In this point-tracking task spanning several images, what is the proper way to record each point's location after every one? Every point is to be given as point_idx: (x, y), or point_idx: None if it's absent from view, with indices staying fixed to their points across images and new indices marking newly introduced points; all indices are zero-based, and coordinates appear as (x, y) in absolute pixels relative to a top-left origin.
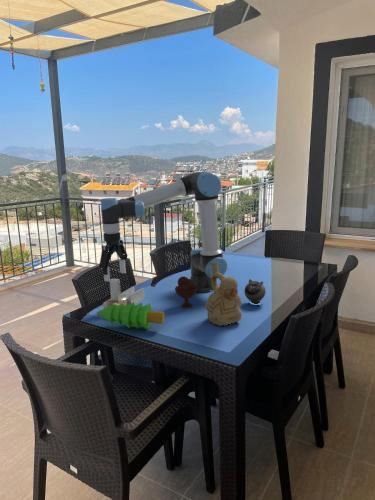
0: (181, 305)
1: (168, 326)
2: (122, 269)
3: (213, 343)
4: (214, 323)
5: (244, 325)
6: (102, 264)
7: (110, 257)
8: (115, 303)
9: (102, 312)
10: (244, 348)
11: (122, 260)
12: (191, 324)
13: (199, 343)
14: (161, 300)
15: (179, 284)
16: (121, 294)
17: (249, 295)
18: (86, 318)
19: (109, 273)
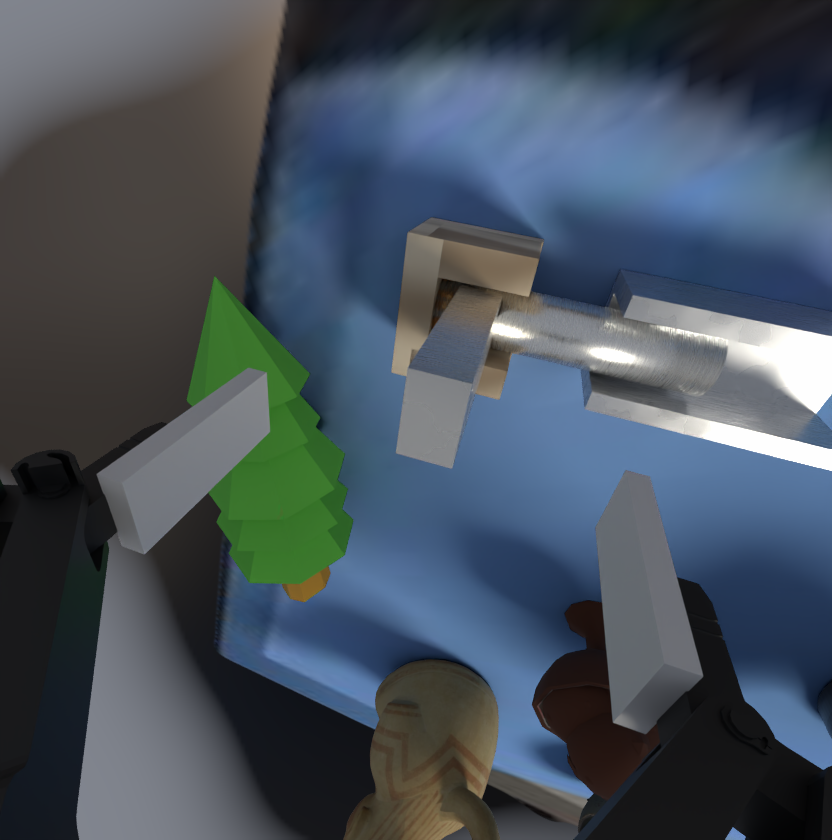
0: (585, 606)
1: (357, 553)
2: (614, 538)
3: (291, 639)
4: (398, 668)
5: None
6: (19, 516)
7: (72, 734)
8: (414, 339)
9: (202, 333)
10: (293, 680)
11: (625, 695)
12: (394, 613)
13: (278, 615)
14: (703, 523)
15: (577, 727)
16: (642, 321)
17: (589, 815)
18: (328, 113)
19: (209, 487)
